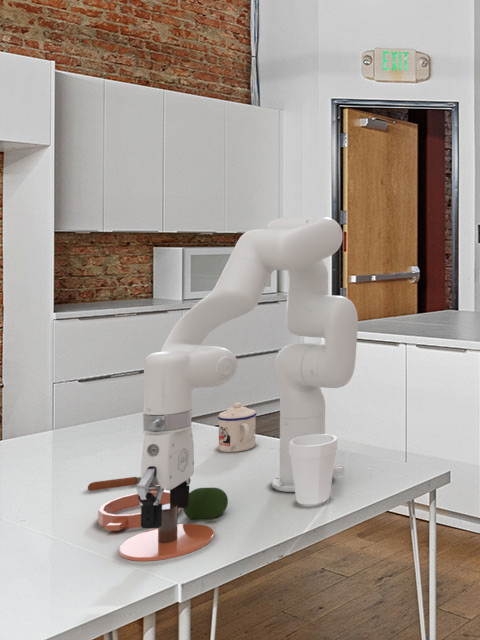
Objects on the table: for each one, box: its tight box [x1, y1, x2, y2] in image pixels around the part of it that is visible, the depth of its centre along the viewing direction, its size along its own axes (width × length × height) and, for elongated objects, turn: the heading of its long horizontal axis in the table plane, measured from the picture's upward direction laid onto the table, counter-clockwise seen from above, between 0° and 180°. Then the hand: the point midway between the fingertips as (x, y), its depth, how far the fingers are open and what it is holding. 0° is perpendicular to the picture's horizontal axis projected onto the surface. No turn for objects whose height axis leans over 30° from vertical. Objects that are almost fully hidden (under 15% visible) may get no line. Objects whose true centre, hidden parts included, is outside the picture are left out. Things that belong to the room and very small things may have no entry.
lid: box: [118, 504, 215, 562], centre depth 132 cm, size 15×15×7 cm
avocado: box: [182, 487, 229, 521], centre depth 144 cm, size 8×6×6 cm
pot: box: [97, 489, 182, 532], centre depth 145 cm, size 14×19×3 cm
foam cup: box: [289, 433, 338, 506], centre depth 154 cm, size 10×9×13 cm
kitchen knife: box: [87, 476, 141, 491], centre depth 163 cm, size 16×1×2 cm, turn 118°
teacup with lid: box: [217, 402, 257, 453], centre depth 192 cm, size 12×9×12 cm
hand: (165, 517), depth 131 cm, fingers open, 9 cm apart
